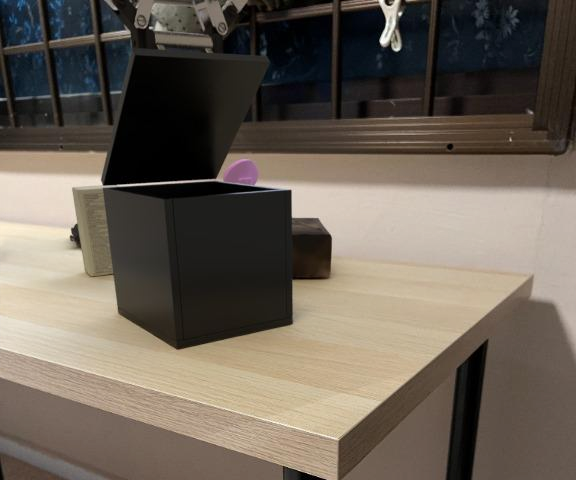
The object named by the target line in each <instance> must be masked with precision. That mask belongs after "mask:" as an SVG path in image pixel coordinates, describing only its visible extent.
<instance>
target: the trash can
mask: <svg viewBox="0 0 576 480" xmlns="http://www.w3.org/2000/svg"><path fill="white" fill-rule="evenodd" d="M119 186H120V187H104V188H103V194H104V202H105V210H106V218H107V227H108V235H109V243H110V251H111V259H112V267H113V274H112V275H113V282H114V290H115V297H116V298H115V299H116V306H117V313H118V314H119V315H121V316H122V317H124V318H126V320H129V321H131V322H132V323H134V324H135V325H137V326H139V327H140V328H142V329H143V330H145V331H147V332H149V333H150V334H151V335H153V336H155V337H156V338H158V339H160V340H161V341H164V342H165V343H166V344H168V345H169V346H171V347H172V348H175V349H176V350H180V349H184V348H190V347H195V346H197V345H204V344H208V343H213V342H217V341H221V340H226V339H230V338H236V337H239V336H244V335H248V334H253V333H257V332H263V331H267V330H271V329H275V328H280V327H281V328H282V327H284V326H288V325H293V324H294V319H293V318H294V317H293V316H294V310H293V309H294V308H293V307H294V303H293V302H294V300H293V299H294V298H293V295H294V294H293V293H294V292H293V291H294V289H293V277H292V218H293V201H292V200H293V193H292V191H293V190H292V189H290V188H281V187H272V186H265V185H256V184H255V185H248V184H240V183H232V182H223V180H198V181H182V182H167V183H151V184H135V185H119Z"/></svg>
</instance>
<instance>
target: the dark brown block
mask: <svg viewBox="0 0 576 480" xmlns="http://www.w3.org/2000/svg"><path fill="white" fill-rule="evenodd" d="M332 253H333V236H332V235H331V232H329V231H328V229H327V228H326V227H325V225H324V224H323V223H322V222H321V220H320V218H319V217H292V278H304V279H305V278H307V279H308V278H311V279H312V278H330V276H331V271H332Z"/></svg>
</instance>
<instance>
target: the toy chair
mask: <svg viewBox="0 0 576 480" xmlns="http://www.w3.org/2000/svg"><path fill="white" fill-rule="evenodd" d="M258 180H259V169H258V167H257V165H256V163H255V162H254V161H253V160H251V159H248V158H242V159H238V160H236V161H235V162H233V163H231V164H230V165H229V166H227V168H225V170H224V172H223V176H222V181H223V182H232V183H240V184H248V185H256V184H257V182H258Z"/></svg>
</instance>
